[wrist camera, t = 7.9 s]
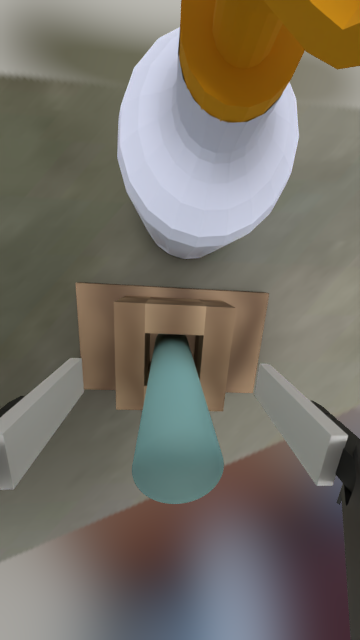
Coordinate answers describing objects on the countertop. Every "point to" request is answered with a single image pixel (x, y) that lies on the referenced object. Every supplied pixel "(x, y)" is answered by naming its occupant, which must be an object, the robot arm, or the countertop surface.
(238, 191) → the soap bottle
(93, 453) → the countertop surface
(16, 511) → the countertop surface
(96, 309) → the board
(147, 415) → the peg
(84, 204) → the countertop surface
